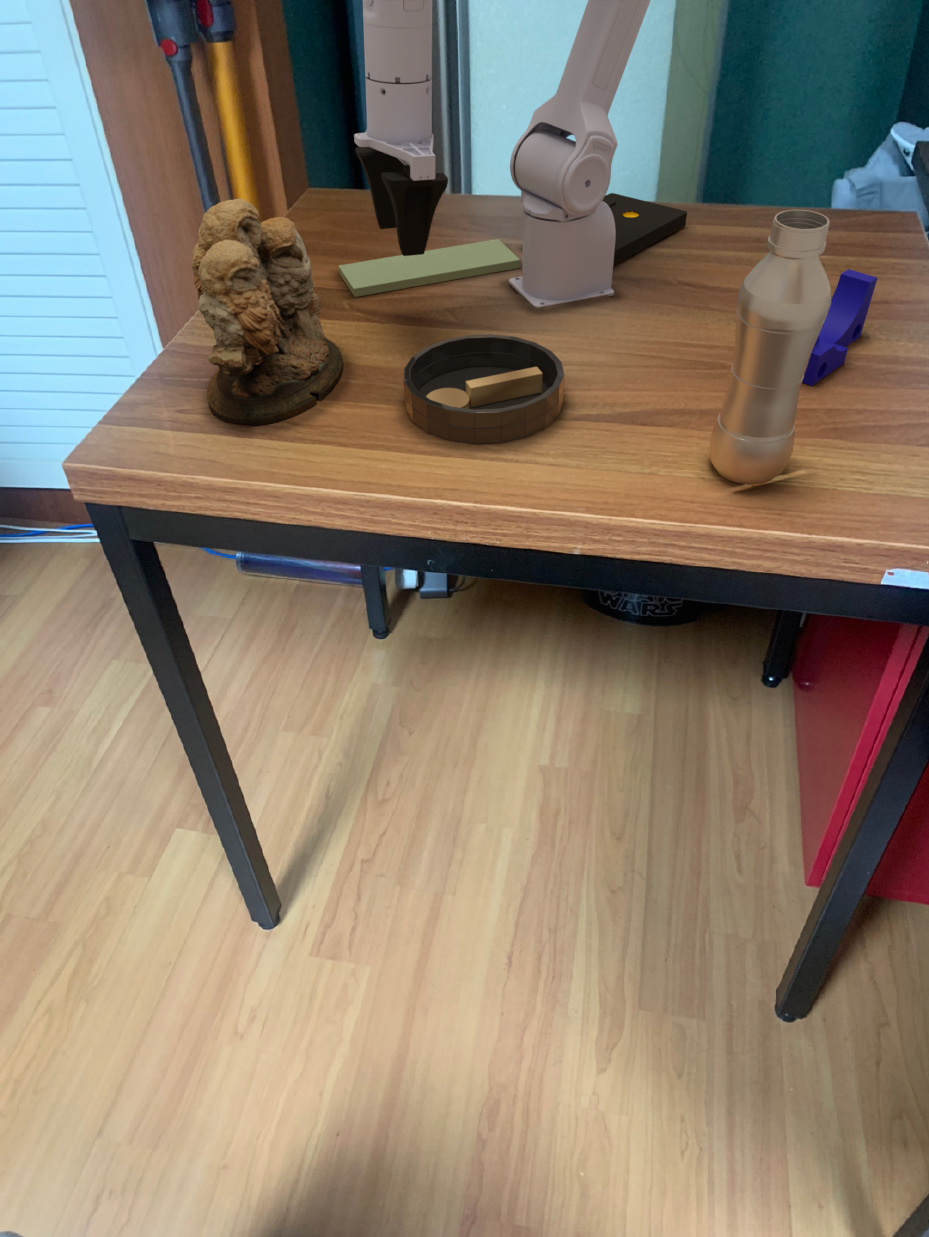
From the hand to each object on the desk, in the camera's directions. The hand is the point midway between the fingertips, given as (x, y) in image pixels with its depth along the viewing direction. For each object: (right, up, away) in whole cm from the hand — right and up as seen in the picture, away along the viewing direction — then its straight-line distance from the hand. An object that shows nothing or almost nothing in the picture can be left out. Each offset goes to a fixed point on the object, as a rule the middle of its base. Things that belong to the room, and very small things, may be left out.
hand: (400, 240), depth 85 cm
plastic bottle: (+29, -24, -12) cm, 40 cm away
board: (+2, +4, +19) cm, 19 cm away
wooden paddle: (+8, -16, -4) cm, 19 cm away
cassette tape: (+24, +10, +24) cm, 36 cm away
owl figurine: (-12, -14, 0) cm, 18 cm away
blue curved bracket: (+41, -11, +1) cm, 42 cm away
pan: (+8, -17, -4) cm, 19 cm away
